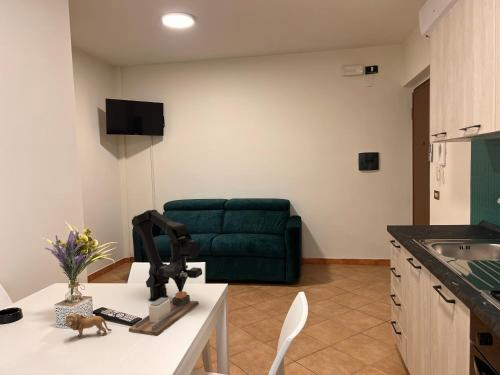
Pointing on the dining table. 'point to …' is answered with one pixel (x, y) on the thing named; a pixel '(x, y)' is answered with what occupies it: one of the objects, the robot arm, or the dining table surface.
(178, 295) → the button
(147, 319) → the rail mount
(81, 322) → the lion figurine
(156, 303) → the block
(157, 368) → the dining table surface
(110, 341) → the dining table surface
